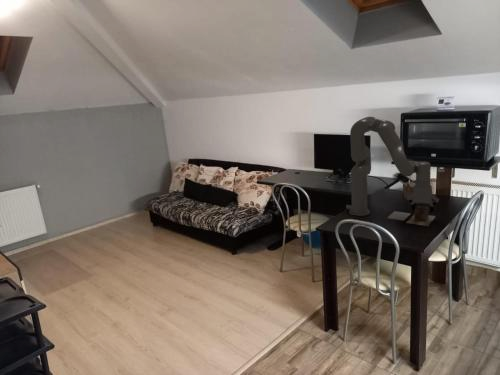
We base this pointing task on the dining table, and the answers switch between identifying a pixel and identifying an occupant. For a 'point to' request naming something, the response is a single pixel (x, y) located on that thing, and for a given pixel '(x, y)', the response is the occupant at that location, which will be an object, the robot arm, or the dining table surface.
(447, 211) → the dining table surface
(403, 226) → the dining table surface
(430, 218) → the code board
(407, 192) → the stack of blocks
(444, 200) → the dining table surface
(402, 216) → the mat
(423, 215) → the walnut block
